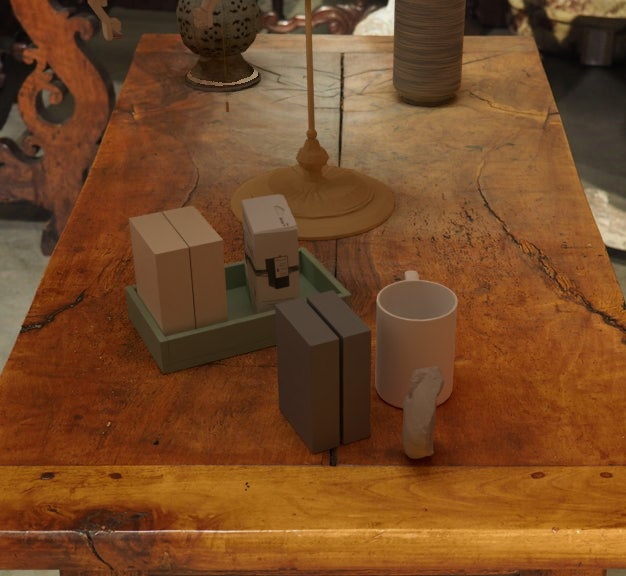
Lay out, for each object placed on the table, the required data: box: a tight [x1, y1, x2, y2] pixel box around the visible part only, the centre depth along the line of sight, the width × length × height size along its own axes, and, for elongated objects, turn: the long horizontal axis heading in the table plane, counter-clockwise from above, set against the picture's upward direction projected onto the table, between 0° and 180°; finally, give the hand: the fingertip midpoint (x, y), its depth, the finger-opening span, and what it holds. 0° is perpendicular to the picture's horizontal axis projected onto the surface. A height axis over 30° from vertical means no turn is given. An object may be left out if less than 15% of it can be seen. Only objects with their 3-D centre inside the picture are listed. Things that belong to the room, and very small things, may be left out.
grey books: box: [275, 290, 372, 455], centre depth 101 cm, size 6×8×12 cm
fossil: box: [401, 366, 444, 460], centre depth 97 cm, size 6×4×10 cm, turn 167°
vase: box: [392, 0, 467, 107], centre depth 178 cm, size 12×12×23 cm
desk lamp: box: [221, 0, 396, 242], centre depth 136 cm, size 31×23×40 cm
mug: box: [374, 270, 459, 409], centre depth 108 cm, size 12×8×10 cm, turn 3°
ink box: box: [241, 194, 300, 314], centre depth 118 cm, size 9×5×12 cm, turn 16°
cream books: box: [128, 205, 228, 337], centre depth 113 cm, size 7×9×12 cm
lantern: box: [175, 0, 262, 93], centre depth 184 cm, size 14×14×25 cm
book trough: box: [124, 246, 352, 375], centre depth 118 cm, size 22×13×4 cm, turn 118°
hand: (159, 32), depth 108 cm, fingers open, 8 cm apart
